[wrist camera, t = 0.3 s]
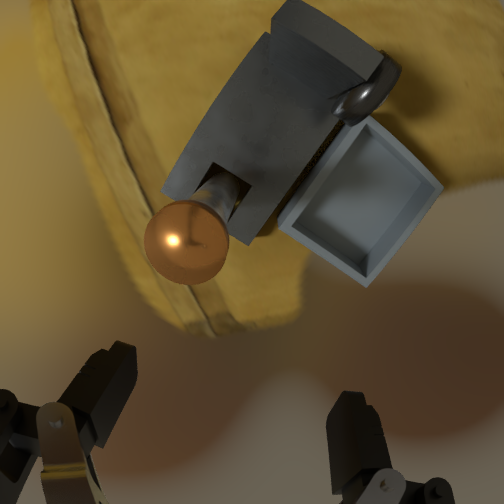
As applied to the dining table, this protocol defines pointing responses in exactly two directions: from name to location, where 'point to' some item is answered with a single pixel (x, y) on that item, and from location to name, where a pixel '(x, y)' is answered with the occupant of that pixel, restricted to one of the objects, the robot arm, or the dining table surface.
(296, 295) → the dining table surface
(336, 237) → the tray
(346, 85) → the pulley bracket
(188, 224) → the lock pin
